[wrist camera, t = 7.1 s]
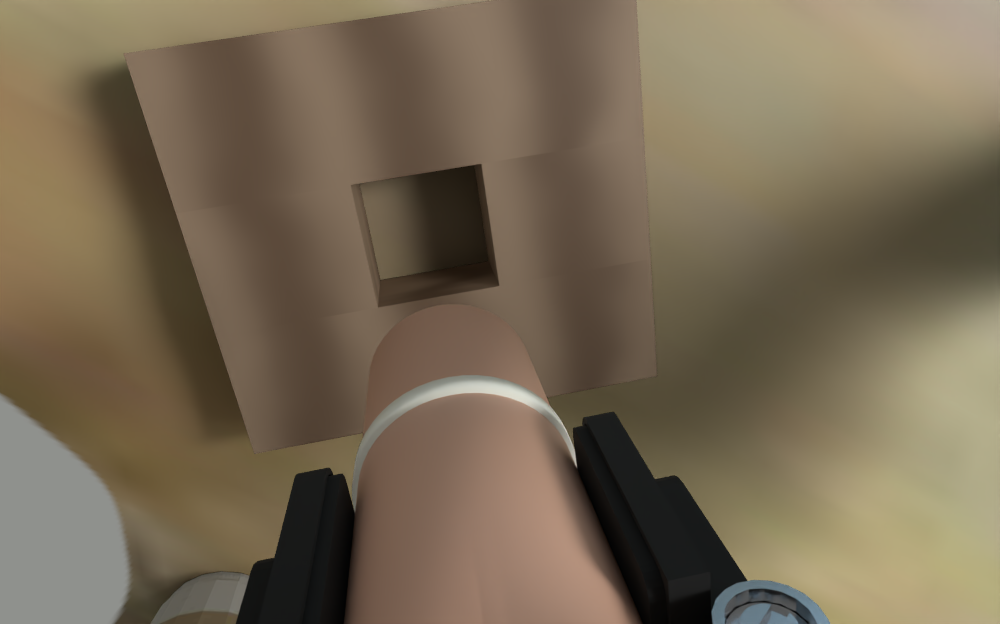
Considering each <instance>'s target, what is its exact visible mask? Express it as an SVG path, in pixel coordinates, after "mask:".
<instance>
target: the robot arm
mask: <svg viewBox="0 0 1000 624" xmlns="http://www.w3.org/2000/svg"><path fill="white" fill-rule="evenodd" d="M582 425H583V426H580V427H575V428H573V438H574V447H575V455H576V464H577V470H578V472H579V474H580V477H581V479H582V482H583V484H584V486H585V489H586V491H587V493H588V496H589V498H590V500H591V503H592V505H593V507H594V510H595V512H596V514H597V517H598V519H599V521H600V524H601V526H602V528H603V531H604V533H605V535H606V538H607V540H608V543H609V545H610V547H611V550H612V552H613V554H614V557H615V559H616V561H617V564H618V566H619V568H620V571H621V573H622V575H623V578H624V580H625V582H626V585H627V587H628V589H629V592H630V594H631V597H632V599H633V601H634V604H635V606H636V608H637V611H638V613H639V615H640V618H641V620H642V622H643V624H830V622H829V620H828V618H827V617H826V615H825V614H824V613H823V611H822V610H821V608H820V607H819V606H818V605H817V604H816V603H815V602H814V601H813V600H811V599H810V598H809V597H808V596H806V595H805V594H804V593H802V592H800V591H798V590H796V589H794V588H792V587H790V586H788V585H784V584H781V583H777V582H773V581H764V580H750V581H747V579H746V578H745V576H744V575H743V573H742V572H741V570H740V569H739V567H738V566H737V564H736V563H735V561H734V560H733V558H732V557H731V555H730V554H729V552H728V550H727V549H726V547H725V546H724V544H723V543H722V541H721V540H720V538H719V537H718V535H717V534H716V532H715V531H714V529H713V528H712V526H711V525H710V523H709V522H708V520H707V519H706V517H705V516H704V514H703V513H702V511H701V510H700V508H699V507H698V505H697V504H696V502H695V500H694V499H693V497H692V496H691V494H690V493H689V491H688V490H687V488H686V487H685V485H684V484H683V482H682V481H681V480H680V479H679V478H678V477H677V476H669V477H664V478H659V479H654V477H653V475H652V474H651V472H650V470H649V469H648V467H647V465H646V464H645V462H644V460H643V459H642V457H641V455H640V454H639V452H638V450H637V449H636V447H635V445H634V444H633V442H632V440H631V439H630V437H629V435H628V434H627V432H626V430H625V429H624V427H623V425H622V424H621V422H620V420H619V419H618V417H617V415H616V414H615V413H614V412H609V413H604V414H599V415H594V416H589V417H584V418H583V422H582ZM354 519H355V512H354V509H353V505H352V501H351V497H350V494H349V490H348V486H347V483H346V479H345V477H344V475H343V474H338V475H333V473H332V471H331V469H330V468H324V469H319V470H314V471H309V472H304V473H299V474H297V475H296V476H295V479H294V483H293V487H292V490H291V494H290V498H289V502H288V506H287V510H286V514H285V518H284V522H283V526H282V530H281V534H280V538H279V542H278V546H277V550H276V554H275V558H271V559H266V560H261V561H257V562H256V563H255V564H254V565H253V568H252V570H251V573H250V576H249V579H248V583H247V586H246V590H245V593H244V596H243V600H242V603H241V607H240V610H239V614H238V617H237V620H236V624H344V616H345V607H346V597H347V587H348V577H349V568H350V558H351V548H352V538H353V528H354Z"/></svg>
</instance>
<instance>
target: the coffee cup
mask: <svg viewBox="0 0 1000 624" xmlns="http://www.w3.org/2000/svg"><path fill="white" fill-rule="evenodd" d="M248 579H249V575H246V574H243V573H235V572H216V573H210V574H205V575H201V576H199V577H196V578H194V579H192V580H190V581H188V582H186V583H184V584H183V585H182V586H181V587H180V588H179V589H177V590H176V591H175V592H174V593H173V594H172V595H171V597H170V598H169V599H168V600H167V601H166V602H165V603H164V604H162V606H161V607H160V609H159V611H158V612H157V614H156V615H155V617H154V619H153V620H152V622H151V623H150V624H236V620H237V617H238V614H239V610H240V607H241V603H242V600H243V596H244V593H245V590H246V586H247V583H248Z"/></svg>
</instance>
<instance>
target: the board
mask: <svg viewBox="0 0 1000 624" xmlns="http://www.w3.org/2000/svg"><path fill="white" fill-rule="evenodd" d="M124 56H125V59H126V62H127V66H128V69H129V72H130V75H131V78H132V81H133V84H134V87H135V90H136V93H137V96H138V99H139V102H140V105H141V108H142V111H143V114H144V118H145V121H146V124H147V127H148V130H149V133H150V136H151V139H152V142H153V145H154V148H155V151H156V154H157V157H158V160H159V163H160V166H161V170H162V173H163V176H164V179H165V182H166V185H167V188H168V191H169V194H170V197H171V200H172V203H173V206H174V209H175V212H176V215H177V218H178V221H179V225H180V228H181V231H182V234H183V237H184V240H185V243H186V246H187V249H188V252H189V255H190V258H191V261H192V264H193V267H194V270H195V273H196V277H197V280H198V283H199V286H200V289H201V292H202V295H203V298H204V301H205V304H206V307H207V310H208V313H209V316H210V319H211V322H212V325H213V328H214V332H215V335H216V338H217V341H218V344H219V347H220V350H221V353H222V356H223V359H224V362H225V365H226V368H227V371H228V374H229V377H230V380H231V384H232V387H233V390H234V393H235V396H236V399H237V402H238V405H239V408H240V411H241V414H242V417H243V420H244V423H245V426H246V429H247V432H248V436H249V439H250V442H251V445H252V448H253V451H254V454H256V453H262V452H267V451H272V450H277V449H282V448H287V447H293V446H298V445H303V444H308V443H313V442H319V441H324V440H329V439H334V438H339V437H345V436H350V435H355V434H360V433H363V431H364V421H365V411H366V402H367V392H368V382H369V373H370V366H371V363H372V359H373V356H374V354H375V352H376V349H377V347H378V346H379V344H380V343H381V341H382V339H383V338H384V337H385V336H386V334H387V333H388V332H389V331H390V330H391V329H392V328H393V327H394V326H395V325H396V324H398V323H399V322H400V321H402V320H403V319H405V318H406V317H408V316H410V315H412V314H414V313H415V312H418V311H420V310H423V309H426V308H429V307H433V306H438V305H446V304H461V305H469V306H473V307H477V308H481V309H483V310H486V311H488V312H491V313H492V314H494V315H496V316H498V317H500V318H501V319H502V320H504V321H505V322H506V323H507V324H509V325H510V326H511V327H512V329H513V330H514V331H515V332H516V333H517V334H518V336H519V337H520V338H521V340H522V342H523V344H524V346H525V348H526V350H527V352H528V355H529V357H530V359H531V362H532V364H533V367H534V369H535V371H536V374H537V376H538V378H539V381H540V383H541V385H542V388H543V390H544V392H545V395H546V397H552V396H557V395H562V394H568V393H573V392H578V391H583V390H588V389H593V388H599V387H604V386H609V385H614V384H619V383H625V382H630V381H635V380H640V379H645V378H650V377H656V376H657V362H656V344H655V326H654V308H653V290H652V272H651V254H650V236H649V218H648V200H647V182H646V164H645V146H644V128H643V110H642V92H641V74H640V56H639V38H638V20H637V2H636V0H492V1H485V2H478V3H471V4H465V5H458V6H451V7H444V8H437V9H430V10H423V11H416V12H409V13H402V14H395V15H388V16H381V17H374V18H367V19H360V20H353V21H346V22H340V23H333V24H326V25H319V26H312V27H305V28H298V29H291V30H284V31H277V32H270V33H263V34H256V35H249V36H242V37H235V38H228V39H221V40H215V41H208V42H201V43H194V44H187V45H180V46H173V47H166V48H159V49H152V50H145V51H138V52H131V53H124ZM470 165H474V167H475V174H476V180H477V187H478V193H479V200H480V207H481V213H482V220H483V226H484V233H485V240H486V246H487V253H488V260H489V261H487V262H482V263H476V264H470V265H464V266H459V267H453V268H447V269H442V270H436V271H430V272H424V273H419V274H413V275H407V276H402V277H396V278H390V279H385V280H380V276H379V272H378V267H377V263H376V258H375V253H374V249H373V244H372V240H371V235H370V230H369V226H368V221H367V217H366V212H365V208H364V203H363V198H362V194H361V189H360V185H359V184H360V183H366V182H372V181H378V180H384V179H391V178H397V177H403V176H409V175H415V174H421V173H427V172H433V171H440V170H446V169H452V168H458V167H464V166H470Z"/></svg>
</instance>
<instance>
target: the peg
mask: <svg viewBox="0 0 1000 624" xmlns="http://www.w3.org/2000/svg"><path fill="white" fill-rule="evenodd" d="M352 501H353V506H354V511H355V519H354V528H353V538H352V548H351V558H350V568H349V577H348V587H347V597H346V607H345V616H344V624H643V622H642V620H641V618H640V615H639V613H638V611H637V608H636V606H635V604H634V601H633V599H632V597H631V594H630V592H629V589H628V587H627V585H626V582H625V580H624V578H623V575H622V573H621V571H620V568H619V566H618V564H617V561H616V559H615V557H614V554H613V552H612V550H611V547H610V545H609V543H608V540H607V538H606V535H605V533H604V531H603V528H602V526H601V524H600V521H599V519H598V517H597V514H596V512H595V510H594V507H593V505H592V503H591V500H590V498H589V496H588V493H587V491H586V489H585V486H584V484H583V482H582V479H581V477H580V474H579V472H578V470H577V464H576V455H575V450H574V447H573V444H572V442H571V440H570V437H569V435H568V433H567V430H566V428H565V427H564V425H563V423H562V421H561V419H560V418H559V416H558V415H557V414H556V413H555V411H554V410H553V409H552V408H551V406H550V404H549V402H548V399H547V397H546V395H545V392H544V390H543V388H542V385H541V383H540V381H539V378H538V376H537V374H536V371H535V369H534V367H533V364H532V362H531V359H530V357H529V355H528V352H527V350H526V348H525V346H524V344H523V342H522V340H521V338H520V337H519V336H518V334H517V333H516V332H515V331H514V330H513V329H512V327H511V326H510V325H509V324H507V323H506V322H505V321H504V320H502V319H501V318H500V317H498V316H496V315H494V314H492V313H491V312H488V311H486V310H483V309H481V308H477V307H473V306H469V305H461V304H446V305H438V306H433V307H429V308H426V309H423V310H420V311H418V312H415V313H414V314H412V315H410V316H408V317H406V318H405V319H403V320H402V321H400V322H399V323H398V324H396V325H395V326H394V327H393V328H392V329H391V330H390V331H389V332H388V333H387V334H386V336H385V337H384V338H383V339H382V341H381V343H380V344H379V346H378V347H377V349H376V352H375V354H374V356H373V359H372V363H371V366H370V373H369V382H368V392H367V402H366V411H365V421H364V431H363V439H362V441H361V443H360V445H359V449H358V452H357V455H356V459H355V467H354V474H353V483H352Z"/></svg>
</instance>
